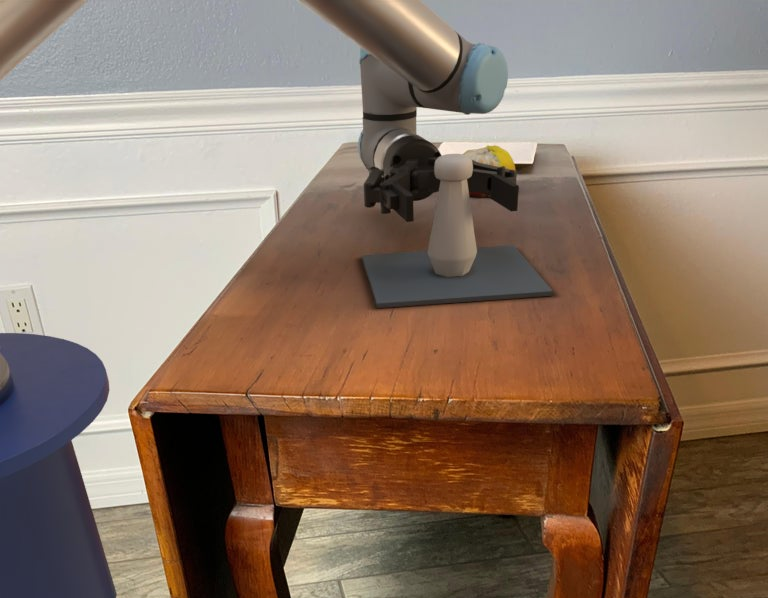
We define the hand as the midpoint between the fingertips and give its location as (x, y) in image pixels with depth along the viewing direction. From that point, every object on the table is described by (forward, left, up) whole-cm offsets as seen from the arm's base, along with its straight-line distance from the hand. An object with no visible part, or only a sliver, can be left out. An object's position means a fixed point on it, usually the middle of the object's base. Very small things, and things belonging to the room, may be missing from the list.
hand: (463, 203), depth 88 cm
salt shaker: (0, +4, -9) cm, 10 cm away
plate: (+17, +67, -10) cm, 70 cm away
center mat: (-1, +4, -9) cm, 10 cm away
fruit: (+12, +46, -10) cm, 48 cm away
